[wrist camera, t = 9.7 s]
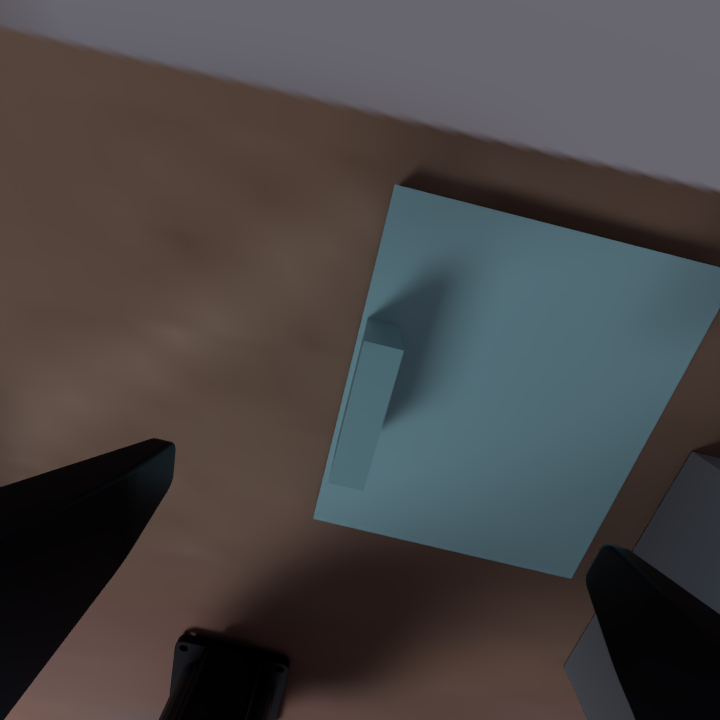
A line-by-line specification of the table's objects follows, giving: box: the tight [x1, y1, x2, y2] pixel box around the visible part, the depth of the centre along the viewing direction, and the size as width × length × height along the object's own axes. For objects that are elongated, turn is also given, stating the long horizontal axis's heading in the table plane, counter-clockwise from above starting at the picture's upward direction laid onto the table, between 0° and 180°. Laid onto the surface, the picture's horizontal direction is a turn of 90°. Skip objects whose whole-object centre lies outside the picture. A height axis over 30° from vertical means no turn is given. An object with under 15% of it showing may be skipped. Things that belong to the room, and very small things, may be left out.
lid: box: [313, 185, 720, 579], centre depth 14 cm, size 14×12×5 cm
